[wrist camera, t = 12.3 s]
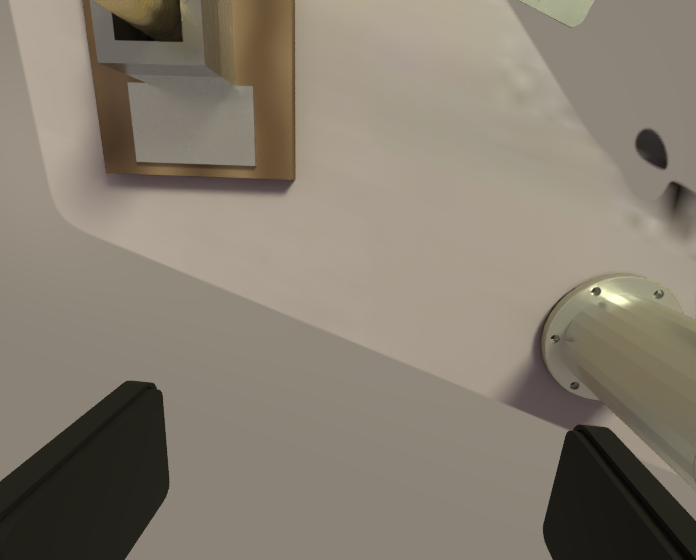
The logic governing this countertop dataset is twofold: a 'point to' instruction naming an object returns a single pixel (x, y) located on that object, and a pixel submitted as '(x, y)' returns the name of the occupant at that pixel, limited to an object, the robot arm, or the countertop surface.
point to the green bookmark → (562, 9)
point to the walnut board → (250, 70)
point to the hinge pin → (150, 17)
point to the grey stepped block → (183, 87)
